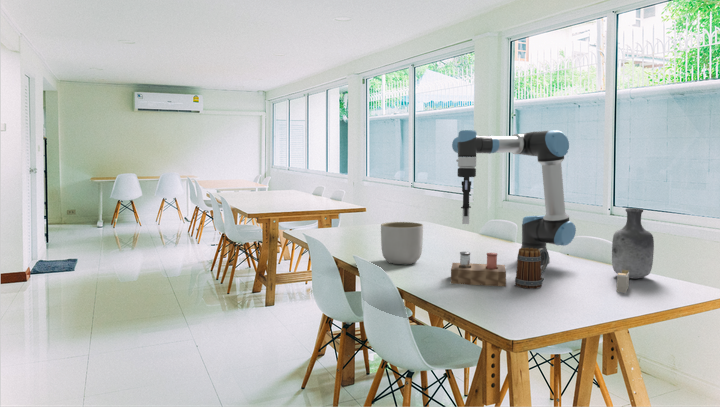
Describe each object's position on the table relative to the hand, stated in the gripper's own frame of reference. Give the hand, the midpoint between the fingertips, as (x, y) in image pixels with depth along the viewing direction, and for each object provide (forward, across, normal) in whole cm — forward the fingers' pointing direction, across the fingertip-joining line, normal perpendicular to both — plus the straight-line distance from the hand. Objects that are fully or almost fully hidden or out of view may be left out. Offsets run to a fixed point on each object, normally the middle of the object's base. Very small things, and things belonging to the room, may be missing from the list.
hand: (465, 223), depth 222 cm
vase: (+25, -21, +70) cm, 78 cm away
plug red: (+21, 0, +11) cm, 24 cm away
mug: (+25, +2, +28) cm, 37 cm away
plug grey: (+21, 0, 0) cm, 21 cm away
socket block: (+24, 0, +6) cm, 25 cm away
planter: (+25, -31, -32) cm, 51 cm away
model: (+25, +2, +62) cm, 67 cm away
